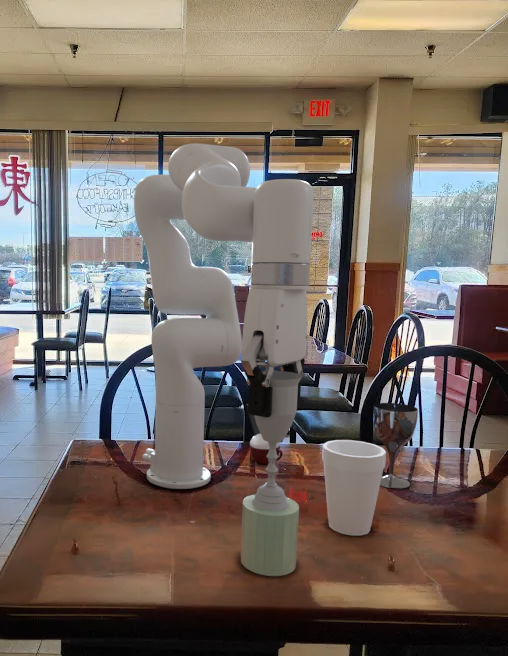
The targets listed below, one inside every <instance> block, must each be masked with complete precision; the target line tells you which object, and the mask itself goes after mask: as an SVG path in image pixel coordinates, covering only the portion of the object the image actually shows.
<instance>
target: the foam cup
mask: <svg viewBox="0 0 508 656" xmlns="http://www.w3.org/2000/svg"><path fill="white" fill-rule="evenodd" d="M321 452H322V454H321V460H322V463H323V470H324V471H323V472H324V482H325V483H324V485H325V498H326V509H327V510H326V511H327V519H328V520H327V521H328V526H329V528H330V529H332V530H333V531H334V532H337V533H339V534H342V535H347V536H364V535H368V534H369V533H370V531H371V528H372V524H373V519H374V514H375V510H376V505H377V502H378V501H377V500H378V497H379V492H380V487H381V485H380V482H381V478H382V475H383V473H384V469H385V468H386V462H387V460H386V459H387V451H386V450H385V448H384V447H381V446H380V445H377V444H375V443H370V442H366V441H361V440H352V439H335V440H328V441H326V442H324V443H323V444H322V451H321Z"/></svg>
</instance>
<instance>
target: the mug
mask: <svg viewBox="0 0 508 656" xmlns="http://www.w3.org/2000/svg"><path fill="white" fill-rule="evenodd" d="M254 498H255V494H251V495H248V496H246V497H245V498H244V499H242V508H241V509H242V510H241V536H240V537H241V538H240V562H241V565H242V566H243V567H244V568H245V569H247V571H248V570H249V571H250V572H253V573H254V574H257V575H261V576H269V577H281V576H286V575H289V574H291V573H292V572H294V571H295V570H296V568H297V559H298V557H297V556H298V537H299V522H300V521H299V520H300V519H299V518H300V517H299V516H300V506H299V504H298V503H297V501H295V500H293V499H292V498H291V497H287V496H286V498H287V499H286V500H287V502H288V504H289V507H288V508H287V509H285V510H282V511H267V510H262V509H259V508H257V507H255V506H254V505H253V504H252V501H253V499H254Z"/></svg>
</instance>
